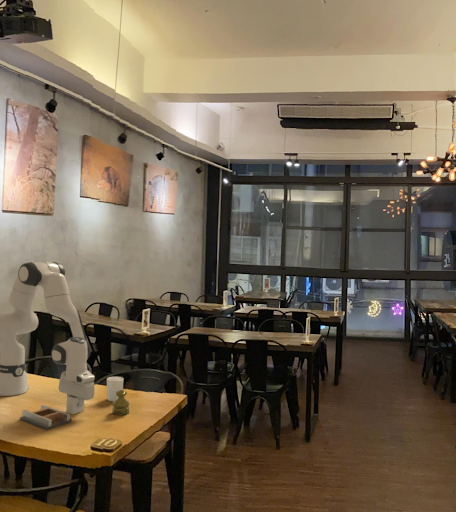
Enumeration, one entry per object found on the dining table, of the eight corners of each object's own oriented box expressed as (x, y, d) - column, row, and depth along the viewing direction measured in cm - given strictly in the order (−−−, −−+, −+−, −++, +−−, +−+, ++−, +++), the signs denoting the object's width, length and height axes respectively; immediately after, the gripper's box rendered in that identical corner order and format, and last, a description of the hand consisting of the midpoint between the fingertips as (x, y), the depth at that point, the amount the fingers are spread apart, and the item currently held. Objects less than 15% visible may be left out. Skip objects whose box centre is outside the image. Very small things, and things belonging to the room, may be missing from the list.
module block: (66, 412, 213) (66, 396, 213) (77, 408, 218) (77, 393, 218) (72, 414, 211) (73, 398, 210) (83, 410, 216) (84, 395, 215)
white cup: (103, 398, 234) (103, 378, 234) (117, 395, 239) (118, 375, 239) (110, 403, 228) (111, 381, 228) (125, 400, 233) (126, 379, 233)
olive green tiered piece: (118, 408, 220) (119, 387, 220) (132, 411, 217) (133, 389, 217) (108, 413, 213) (109, 391, 213) (123, 416, 210) (123, 393, 210)
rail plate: (19, 419, 202) (20, 411, 202) (45, 412, 212) (45, 404, 212) (46, 430, 192) (46, 421, 192) (71, 421, 202) (71, 413, 202)
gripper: (55, 371, 217) (54, 402, 218) (85, 380, 206) (84, 412, 206) (67, 369, 223) (66, 399, 223) (97, 377, 211) (96, 408, 211)
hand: (75, 405), depth 214 cm, fingers closed on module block, 4 cm apart
